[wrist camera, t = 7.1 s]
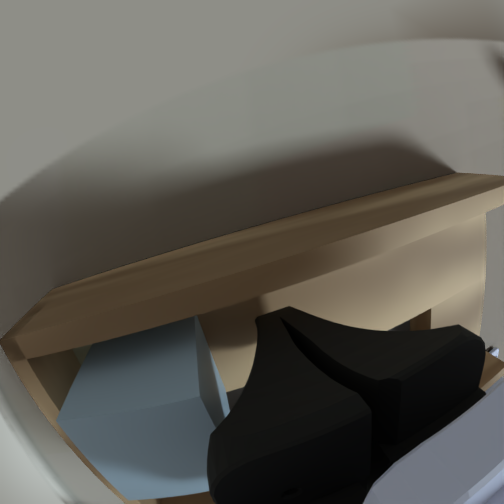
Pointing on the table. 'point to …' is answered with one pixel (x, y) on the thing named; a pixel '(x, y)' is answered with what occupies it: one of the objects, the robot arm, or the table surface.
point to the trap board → (277, 287)
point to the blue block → (148, 410)
